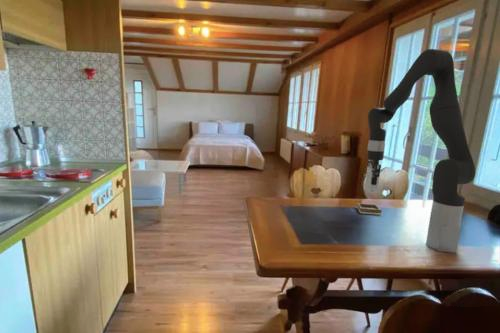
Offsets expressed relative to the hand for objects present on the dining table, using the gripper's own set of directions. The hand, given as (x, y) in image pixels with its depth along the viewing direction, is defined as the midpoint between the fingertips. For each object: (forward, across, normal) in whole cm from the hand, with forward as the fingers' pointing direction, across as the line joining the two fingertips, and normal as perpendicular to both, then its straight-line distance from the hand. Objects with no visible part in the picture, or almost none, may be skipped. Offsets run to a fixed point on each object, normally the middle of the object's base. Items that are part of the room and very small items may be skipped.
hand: (371, 182), depth 138 cm
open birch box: (+15, 0, 0) cm, 15 cm away
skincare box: (+4, 0, 0) cm, 4 cm away
